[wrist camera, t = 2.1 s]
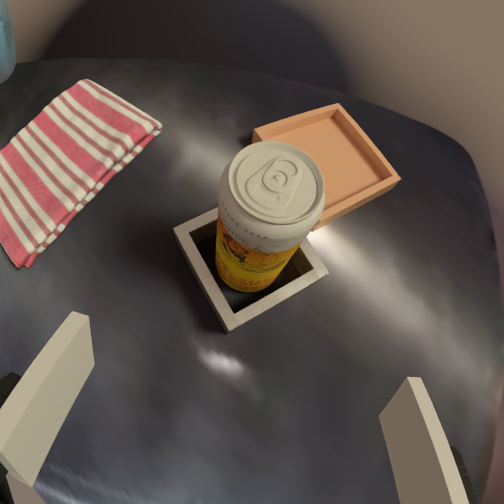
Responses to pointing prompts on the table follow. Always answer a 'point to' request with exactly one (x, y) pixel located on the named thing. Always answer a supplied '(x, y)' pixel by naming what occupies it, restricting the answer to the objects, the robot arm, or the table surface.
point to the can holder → (186, 241)
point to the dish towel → (65, 164)
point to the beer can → (265, 212)
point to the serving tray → (335, 157)
